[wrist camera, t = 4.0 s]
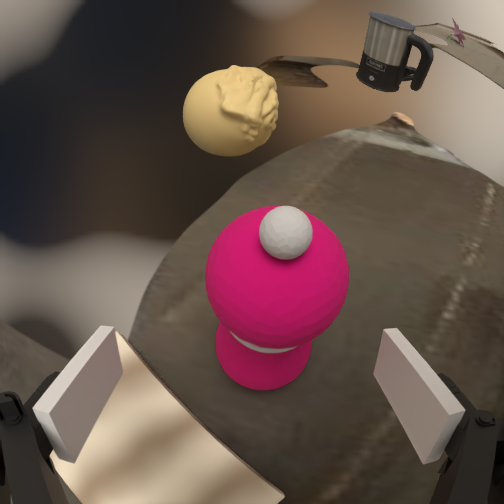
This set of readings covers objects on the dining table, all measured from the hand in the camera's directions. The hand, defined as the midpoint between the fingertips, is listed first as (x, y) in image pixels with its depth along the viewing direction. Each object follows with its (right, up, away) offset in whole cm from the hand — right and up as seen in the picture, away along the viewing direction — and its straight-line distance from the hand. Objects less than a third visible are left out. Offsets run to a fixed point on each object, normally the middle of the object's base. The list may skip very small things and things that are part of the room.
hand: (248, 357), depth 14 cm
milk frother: (+29, +41, +40) cm, 64 cm away
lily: (+82, +90, +70) cm, 140 cm away
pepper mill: (+1, -4, +13) cm, 14 cm away
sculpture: (-3, +20, +27) cm, 34 cm away
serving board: (-9, -13, +7) cm, 18 cm away
